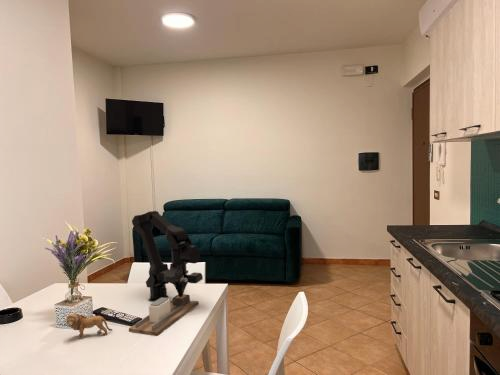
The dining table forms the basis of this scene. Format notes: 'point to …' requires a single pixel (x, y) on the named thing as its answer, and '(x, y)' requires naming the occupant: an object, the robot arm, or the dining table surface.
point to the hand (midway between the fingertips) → (180, 296)
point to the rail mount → (177, 311)
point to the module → (159, 309)
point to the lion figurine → (86, 323)
